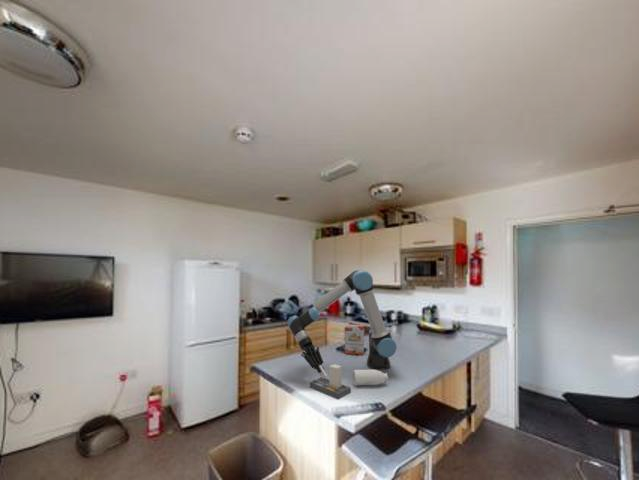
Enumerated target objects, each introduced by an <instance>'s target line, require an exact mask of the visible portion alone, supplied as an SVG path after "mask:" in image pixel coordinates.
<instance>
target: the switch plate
mask: <svg viewBox="0 0 639 480" xmlns="http://www.w3.org/2000/svg"><path fill="white" fill-rule="evenodd" d="M309 388H311V389H314V390H316V391H318V392H320V393H323V394H324V395H328V396H331V397H333V398H335V399H338V400H339V399H341V398H343V397H345V396H347V395H349V394H350V393H351V392H352V387H351V386H348V385H347V384H346V385H345V384H343V383H342V387H340V388H336V387H333V386H331V385H329V378H327V377H326V378H325V379H322V377H321V376H320V377H318V378H317V379H313V380H312V381H309Z"/></svg>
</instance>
